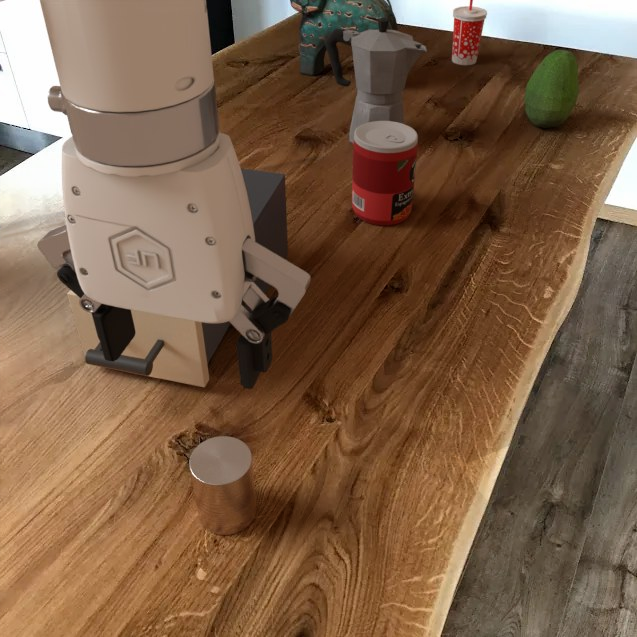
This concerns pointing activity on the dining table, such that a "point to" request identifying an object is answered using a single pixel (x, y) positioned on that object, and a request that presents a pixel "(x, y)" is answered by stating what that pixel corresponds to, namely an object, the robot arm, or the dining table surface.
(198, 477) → the cylinder
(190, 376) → the drawer
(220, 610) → the dining table surface
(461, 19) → the beverage cup
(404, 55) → the coffeepot
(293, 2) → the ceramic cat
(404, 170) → the canned food
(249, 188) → the cabinet
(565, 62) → the avocado
